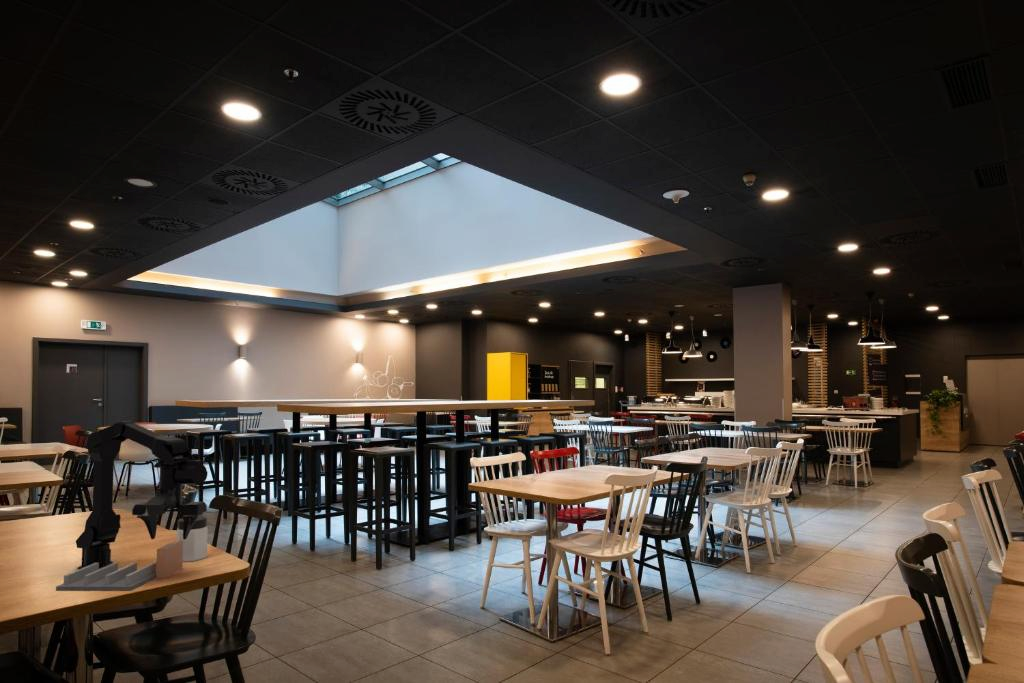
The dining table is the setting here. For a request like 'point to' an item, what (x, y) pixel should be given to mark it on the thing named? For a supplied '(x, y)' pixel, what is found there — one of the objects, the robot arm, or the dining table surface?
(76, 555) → the dining table surface
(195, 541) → the jar
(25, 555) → the dining table surface
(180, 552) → the brown flat rectangular slab
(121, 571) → the rack
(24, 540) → the dining table surface
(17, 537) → the dining table surface
